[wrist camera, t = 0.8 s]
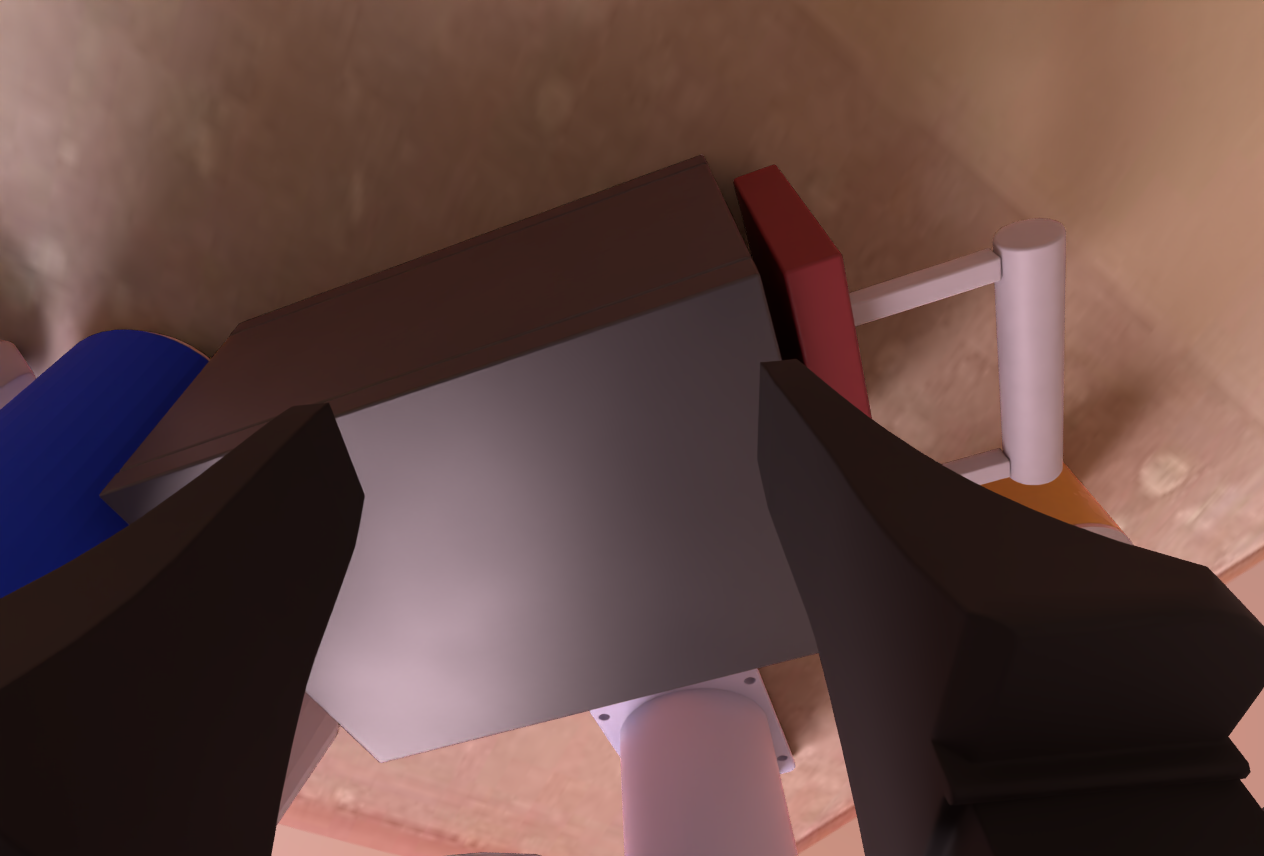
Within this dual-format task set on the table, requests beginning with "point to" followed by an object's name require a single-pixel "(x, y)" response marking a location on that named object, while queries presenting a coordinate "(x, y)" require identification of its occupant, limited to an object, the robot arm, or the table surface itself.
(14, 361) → the smooth white sculpture
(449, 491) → the coffee machine
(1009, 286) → the drawer
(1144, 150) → the table surface
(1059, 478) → the coffee capsule
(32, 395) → the beverage can
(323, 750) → the lava lamp
